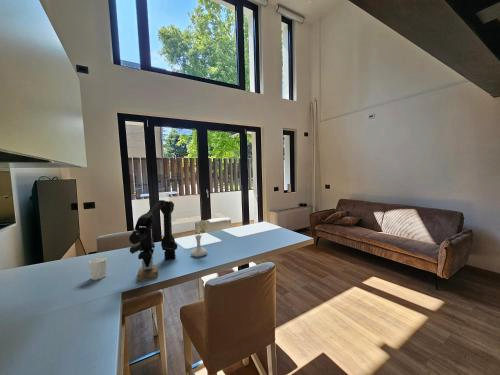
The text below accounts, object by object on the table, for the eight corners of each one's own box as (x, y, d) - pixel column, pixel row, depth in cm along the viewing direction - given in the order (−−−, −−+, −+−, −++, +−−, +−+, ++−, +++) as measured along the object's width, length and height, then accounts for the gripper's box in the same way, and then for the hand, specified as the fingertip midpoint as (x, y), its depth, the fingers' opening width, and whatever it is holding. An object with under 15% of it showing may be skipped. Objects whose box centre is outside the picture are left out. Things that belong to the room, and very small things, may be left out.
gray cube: (153, 264, 123) (152, 256, 123) (152, 268, 118) (151, 259, 118) (143, 266, 121) (143, 257, 121) (142, 269, 117) (141, 261, 116)
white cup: (92, 275, 122) (91, 258, 121) (108, 272, 125) (107, 256, 124) (88, 281, 115) (87, 263, 114) (105, 278, 118) (104, 261, 117)
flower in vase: (195, 259, 141) (193, 223, 140) (188, 255, 150) (186, 220, 148) (212, 254, 150) (210, 219, 148) (204, 250, 158) (203, 217, 157)
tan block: (158, 270, 126) (158, 264, 126) (157, 278, 117) (157, 271, 117) (139, 274, 123) (139, 267, 123) (137, 282, 114) (137, 274, 113)
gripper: (133, 235, 125) (135, 261, 126) (126, 245, 107) (128, 274, 108) (154, 233, 129) (155, 258, 130) (150, 242, 111) (151, 271, 112)
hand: (148, 265), depth 120 cm, fingers closed on gray cube, 5 cm apart
